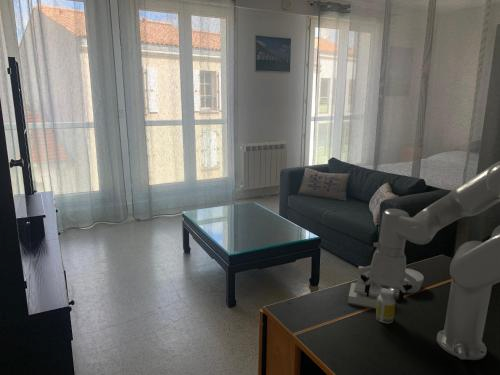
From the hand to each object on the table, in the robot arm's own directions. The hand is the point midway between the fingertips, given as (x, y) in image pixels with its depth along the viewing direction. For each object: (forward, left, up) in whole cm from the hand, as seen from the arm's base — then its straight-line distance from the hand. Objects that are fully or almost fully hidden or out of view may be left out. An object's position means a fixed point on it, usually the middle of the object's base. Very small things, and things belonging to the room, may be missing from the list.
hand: (383, 298), depth 120 cm
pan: (+9, +5, -4) cm, 11 cm away
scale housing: (+10, +5, -7) cm, 13 cm away
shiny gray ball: (+16, -4, -7) cm, 18 cm away
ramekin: (+25, -8, -8) cm, 27 cm away
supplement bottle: (0, -1, -7) cm, 7 cm away
